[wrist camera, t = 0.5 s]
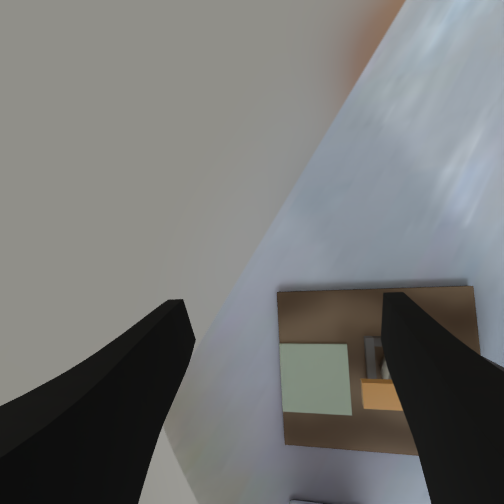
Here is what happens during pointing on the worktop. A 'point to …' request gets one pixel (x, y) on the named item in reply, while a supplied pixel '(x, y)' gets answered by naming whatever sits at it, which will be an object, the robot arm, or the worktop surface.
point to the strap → (379, 395)
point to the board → (363, 358)
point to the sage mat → (315, 378)
